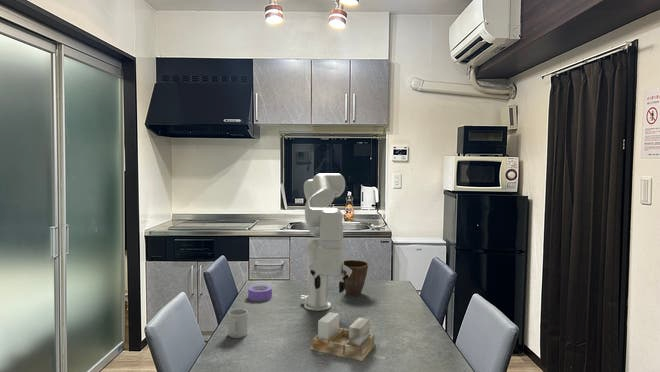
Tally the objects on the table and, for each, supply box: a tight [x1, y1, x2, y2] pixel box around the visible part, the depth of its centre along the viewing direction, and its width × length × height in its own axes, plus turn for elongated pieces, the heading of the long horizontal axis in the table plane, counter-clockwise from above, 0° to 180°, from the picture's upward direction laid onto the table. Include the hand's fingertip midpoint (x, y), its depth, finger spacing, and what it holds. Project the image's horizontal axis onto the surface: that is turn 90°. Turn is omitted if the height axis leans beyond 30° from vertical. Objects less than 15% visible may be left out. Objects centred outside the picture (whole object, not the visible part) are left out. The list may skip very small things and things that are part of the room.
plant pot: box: [343, 259, 369, 297], centre depth 212 cm, size 15×15×16 cm
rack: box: [310, 317, 377, 362], centre depth 149 cm, size 20×14×10 cm
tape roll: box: [247, 284, 273, 302], centre depth 205 cm, size 12×12×5 cm
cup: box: [228, 308, 249, 339], centre depth 158 cm, size 7×10×9 cm
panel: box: [317, 311, 340, 341], centre depth 151 cm, size 4×10×9 cm, turn 156°
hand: (329, 290), depth 151 cm, fingers open, 9 cm apart
